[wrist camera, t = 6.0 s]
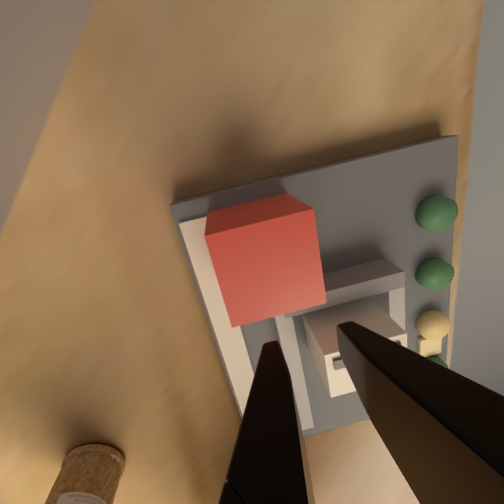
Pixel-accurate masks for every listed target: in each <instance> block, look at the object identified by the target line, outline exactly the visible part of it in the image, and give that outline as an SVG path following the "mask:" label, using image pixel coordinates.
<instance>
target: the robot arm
mask: <svg viewBox="0 0 504 504" xmlns="http://www.w3.org/2000/svg"><path fill="white" fill-rule="evenodd" d="M336 332H337V340H338V349H339V353H340V356H341V358H342V361H343V363H344V365H345V367H346V369H347V371H348V374H349V376H350V378H351V380H352V382H353V384H354V387H355V389H356V391H357V393H358V395H359V397H360V400H361V402H362V404H363V406H364V408H365V410H366V412H367V414H368V416H369V418H370V420H371V421H372V423H373V425H374V427H375V428H376V430H377V432H378V433H379V435H380V437H381V439H382V440H383V442H384V444H385V445H386V447H387V449H388V450H389V452H390V454H391V455H392V457H393V459H394V460H395V462H396V464H397V466H398V467H399V469H400V471H401V472H402V474H403V476H404V477H405V479H406V481H407V482H408V484H409V486H410V488H411V489H412V491H413V493H414V494H415V496H416V498H417V499H418V501H419V503H420V504H504V396H503V395H500V394H499V393H497V392H495V391H492V390H490V389H488V388H486V387H484V386H482V385H480V384H478V383H476V382H474V381H472V380H470V379H468V378H466V377H464V376H462V375H460V374H458V373H456V372H454V371H452V370H450V369H448V368H446V367H444V366H442V365H440V364H438V363H436V362H434V361H432V360H430V359H428V358H426V357H424V356H422V355H420V354H418V353H416V352H414V351H412V350H410V349H408V348H406V347H404V346H402V345H400V344H398V343H396V342H394V341H392V340H390V339H388V338H386V337H384V336H382V335H380V334H378V333H376V332H374V331H372V330H370V329H368V328H366V327H364V326H362V325H360V324H358V323H356V322H353V321H347V322H344V323H340V324H338V325H337V327H336ZM226 480H227V482H225V483H224V485H223V489H222V492H221V496H220V500H219V503H218V504H315V500H314V495H313V489H312V483H311V477H310V471H309V465H308V459H307V454H306V448H305V442H304V437H303V432H302V427H301V422H300V418H299V413H298V408H297V403H296V398H295V394H294V389H293V384H292V379H291V375H290V372H289V368H288V365H287V363H286V360H285V357H284V354H283V351H282V349H281V346H280V343H279V341H278V340H274V341H270V342H266V343H264V344H263V345H262V349H261V352H260V356H259V359H258V363H257V367H256V370H255V374H254V378H253V381H252V385H251V388H250V392H249V396H248V399H247V403H246V406H245V410H244V414H243V417H242V421H241V424H240V428H239V432H238V435H237V439H236V443H235V446H234V450H233V453H232V457H231V461H230V464H229V468H228V471H227V475H226Z"/></svg>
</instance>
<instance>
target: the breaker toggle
mask: <svg viewBox="0 0 504 504" xmlns="http://www.w3.org/2000/svg"><path fill="white" fill-rule="evenodd" d="M302 318H303V324H304V329H305V335H306V340H307V346H308V349H309V352H310V354H311V356H312V358H313V360H314V362H315V365H316V367H317V369H318V371H319V373H320V375H321V378H322V380H323V382H324V384H325V386H326V388H327V390H328V393H329V395H330V397H331V398H332V397H336V396H339V395H343V394H347V393H350V392H354V391H356V389H355V387H354V384H353V382H352V380H351V378H350V376H349V374H348V371H347V369H346V367H345V365H344V363H343V361H342V358H341V356H340V353H339V349H338V340H337V332H336V327H337V325H338V324H340V323H344V322H347V321H353V322H356V323H358V324H360V325H362V326H364V327H366V328H368V329H370V330H372V331H374V332H376V333H378V334H380V335H382V336H384V337H386V338H388V339H390V340H392V341H394V342H396V343H398V344H400V345H402V346H404V347H406V348H407V333H406V332H405V331H404V330H403V329H402V328H401V327H400V326H399V325H398V324H397V323H396V322H395V321H394V320H393V319H392V318H391V317H390V316H389V315H388V314H387V313H386V312H384V311H383V310H382V309H381V308H380V307H379V306H378V305H377V304H376V303H375V302H374V301H373V300H372V299H371V298H370V297H365V298H361V299H357V300H354V301H350V302H346V303H342V304H338V305H335V306H331V307H327V308H323V309H319V310H316V311H312V312H308V313H304V314H302Z"/></svg>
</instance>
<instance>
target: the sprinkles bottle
mask: <svg viewBox="0 0 504 504" xmlns="http://www.w3.org/2000/svg"><path fill="white" fill-rule="evenodd" d="M124 469H125V461H124V458H123V456H122V455H121V453H120V452H119V451H118V450H116V449H114V448H112V447H110V446H107V445H100V444H88V445H84V446H80V447H77V448H75V449H74V450H72V451H71V452H70V453H69V454H68V455H67V456H66V458H65V459H64V461H63V463H62V466H61V471H60V473H59V475H58V477H57V479H56V481H55V483H54V485H53V487H52V489H51V491H50V494H49V496H48V498H47V500H46V502H45V504H113V501H114V497H115V494H116V491H117V488H118V484H119V480H120V477H121V476H122V474H123V471H124Z"/></svg>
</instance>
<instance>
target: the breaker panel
mask: <svg viewBox="0 0 504 504" xmlns="http://www.w3.org/2000/svg"><path fill="white" fill-rule="evenodd" d="M457 153H458V135H449V136H439V137H435V138H431V139H427V140H423V141H419V142H415V143H411V144H407V145H403V146H399V147H395V148H390V149H386V150H382V151H378V152H374V153H370V154H366V155H362V156H358V157H354V158H350V159H345V160H341V161H337V162H333V163H329V164H325V165H321V166H317V167H313V168H309V169H305V170H300V171H296V172H292V173H288V174H284V175H280V176H276V177H272V178H268V179H264V180H260V181H255V182H251V183H247V184H243V185H239V186H235V187H231V188H227V189H223V190H219V191H215V192H210V193H206V194H202V195H198V196H194V197H190V198H186V199H182V200H178V201H174V202H172V203H171V205H170V208H171V211H172V214H173V217H174V220H175V223H176V226H177V229H178V232H179V235H180V238H181V241H182V244H183V247H184V250H185V253H186V256H187V259H188V262H189V265H190V268H191V271H192V274H193V277H194V280H195V283H196V286H197V289H198V291H199V294H200V297H201V300H202V303H203V306H204V309H205V312H206V315H207V318H208V321H209V324H210V327H211V330H212V333H213V336H214V339H215V342H216V345H217V348H218V351H219V354H220V357H221V360H222V363H223V366H224V369H225V372H226V375H227V378H228V381H229V384H230V387H231V390H232V392H233V395H234V398H235V401H236V404H237V407H238V410H239V413H240V416H241V419H242V417H243V414H244V410H245V406H246V403H247V399H248V396H249V392H250V388H251V385H252V381H253V378H254V374H255V370H256V367H257V363H258V359H259V356H260V352H261V349H262V345H263V344H264V343H266V342H270V341H274V340H278V341H279V343H280V346H281V349H282V351H283V354H284V357H285V360H286V363H287V365H288V368H289V372H290V375H291V379H292V384H293V389H294V394H295V398H296V403H297V408H298V413H299V418H300V422H301V427H302V432H303V437H306V436H310V435H313V434H317V433H320V432H324V431H328V430H331V429H335V428H338V427H342V426H345V425H349V424H352V423H356V422H360V421H363V420H367V419H370V418H369V416H368V414H367V412H366V410H365V408H364V406H363V404H362V402H361V400H360V397H359V395H358V393H357V391H354V392H350V393H347V394H343V395H339V396H336V397H332V398H331V397H330V395H329V393H328V390H327V388H326V386H325V384H324V382H323V380H322V378H321V375H320V373H319V371H318V369H317V367H316V365H315V362H314V360H313V358H312V356H311V354H310V352H309V349H308V346H307V340H306V335H305V329H304V324H303V318H302V314H304V313H308V312H312V311H316V310H319V309H323V308H327V307H331V306H335V305H338V304H342V303H346V302H350V301H354V300H357V299H361V298H365V297H370V298H371V299H372V300H373V301H374V302H375V303H376V304H377V305H378V306H379V307H380V308H381V309H382V310H383V311H384V312H386V313H387V314H388V315H389V316H390V317H391V318H392V319H393V320H394V321H395V322H396V323H397V324H398V325H399V326H400V327H401V328H402V329H403V330H404V331H405V332H406V333H407V348H408V349H410V350H412V351H414V352H416V353H418V354H420V355H422V356H424V357H426V358H428V359H430V360H432V361H434V362H436V363H438V364H440V365H442V366H444V367H446V368H448V366H447V364H446V358H447V339H448V332H449V330H450V328H451V321H450V319H449V302H450V284H451V281H452V279H453V276H454V268H453V266H452V246H453V228H454V221H455V219H456V217H457V213H458V207H457V204H456V202H455V191H456V172H457ZM283 193H288V194H290V195H292V196H293V197H295V198H297V199H298V200H300V201H302V202H303V203H305V204H307V205H308V206H310V207H312V208H313V209H314V214H315V221H316V229H317V236H318V243H319V250H320V257H321V264H322V271H323V279H324V286H325V293H326V300H327V303H325V304H321V305H317V306H313V307H309V308H306V309H302V310H298V311H294V312H290V313H287V314H283V315H279V316H275V317H271V318H268V319H264V320H260V321H256V322H252V323H249V324H245V325H241V326H237V327H233V328H232V327H231V323H230V320H229V317H228V313H227V310H226V307H225V303H224V300H223V297H222V293H221V290H220V287H219V283H218V280H217V277H216V274H215V270H214V267H213V264H212V260H211V257H210V254H209V250H208V247H207V244H206V240H205V237H204V234H205V227H206V219H207V212H210V211H214V210H218V209H222V208H226V207H230V206H234V205H238V204H242V203H246V202H250V201H254V200H258V199H263V198H267V197H271V196H275V195H279V194H283Z"/></svg>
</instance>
